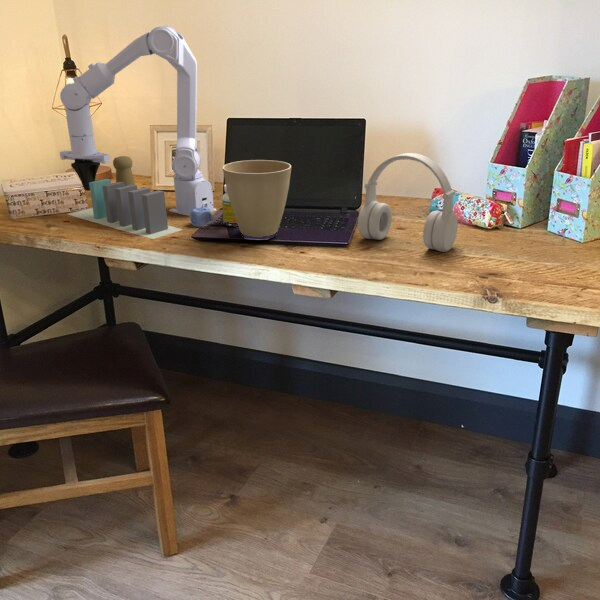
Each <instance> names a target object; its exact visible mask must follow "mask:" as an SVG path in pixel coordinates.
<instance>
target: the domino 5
mask: <svg viewBox="0 0 600 600" xmlns="http://www.w3.org/2000/svg"><path fill="white" fill-rule="evenodd" d="M142 202H143V211H144V220H145V228H146V233H148V234H154V233H157V232H161V231H164V230H167V229H168V226H169V225H168V216H167V205H166V204H167V203H166V196H165V191H164V190H159V189H158V190H154V191H151V192H150V193H146V194H142Z"/></svg>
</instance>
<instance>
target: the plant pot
mask: <svg viewBox="0 0 600 600" xmlns="http://www.w3.org/2000/svg"><path fill="white" fill-rule="evenodd" d="M222 172H223V178H224V183H225V184H226V188H227V192H228V196H229V200H230V203H231V207H232V210H233V213H234V216H235V219H236V221H237V224H238V226H239V227H238V229H239V231H240V232H241V233H242V234H244V235H247V236H252V237H263V236H270V235H273V234H275V233H276V232H277V233H278V230H279V228H280V224H281V223H282V222H281V221H282V219H283V214H284V213H285V207H286V203H287V198H288V193H289V189H290V182H291V181H290V180H291V173H292V165H291V164H290V163H288V162H285V161H279V160H273V159H272V160H268V159H267V160H266V159H255V160H254V159H250V160H240V161H239V160H238V161H232V162H230V163H226V164H224V165H223V166H222ZM242 234H241V235H242Z"/></svg>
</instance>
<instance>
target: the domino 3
mask: <svg viewBox="0 0 600 600" xmlns="http://www.w3.org/2000/svg"><path fill="white" fill-rule="evenodd" d="M136 189H138V185H137V184H135V185H133V184H132V185H128V186H124V187H119V188H115V193H116V200H117V208H118V216H119V223H120V226H123V227H126V226H129V225H132V220H131V212H130V203H129V195H128V191H132V190H136Z"/></svg>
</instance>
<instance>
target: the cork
mask: <svg viewBox="0 0 600 600" xmlns="http://www.w3.org/2000/svg"><path fill="white" fill-rule="evenodd" d="M112 165H113V168H114V169H115V183H116V182H124V184H125V186H128V185H132V184H133V185H136V183H135V179H134V175H133V170H132V168H133V160H132V158H131V157H130V156H126V155H124V156H123V155H121V156H116V157H115V158H113V160H112Z"/></svg>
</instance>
